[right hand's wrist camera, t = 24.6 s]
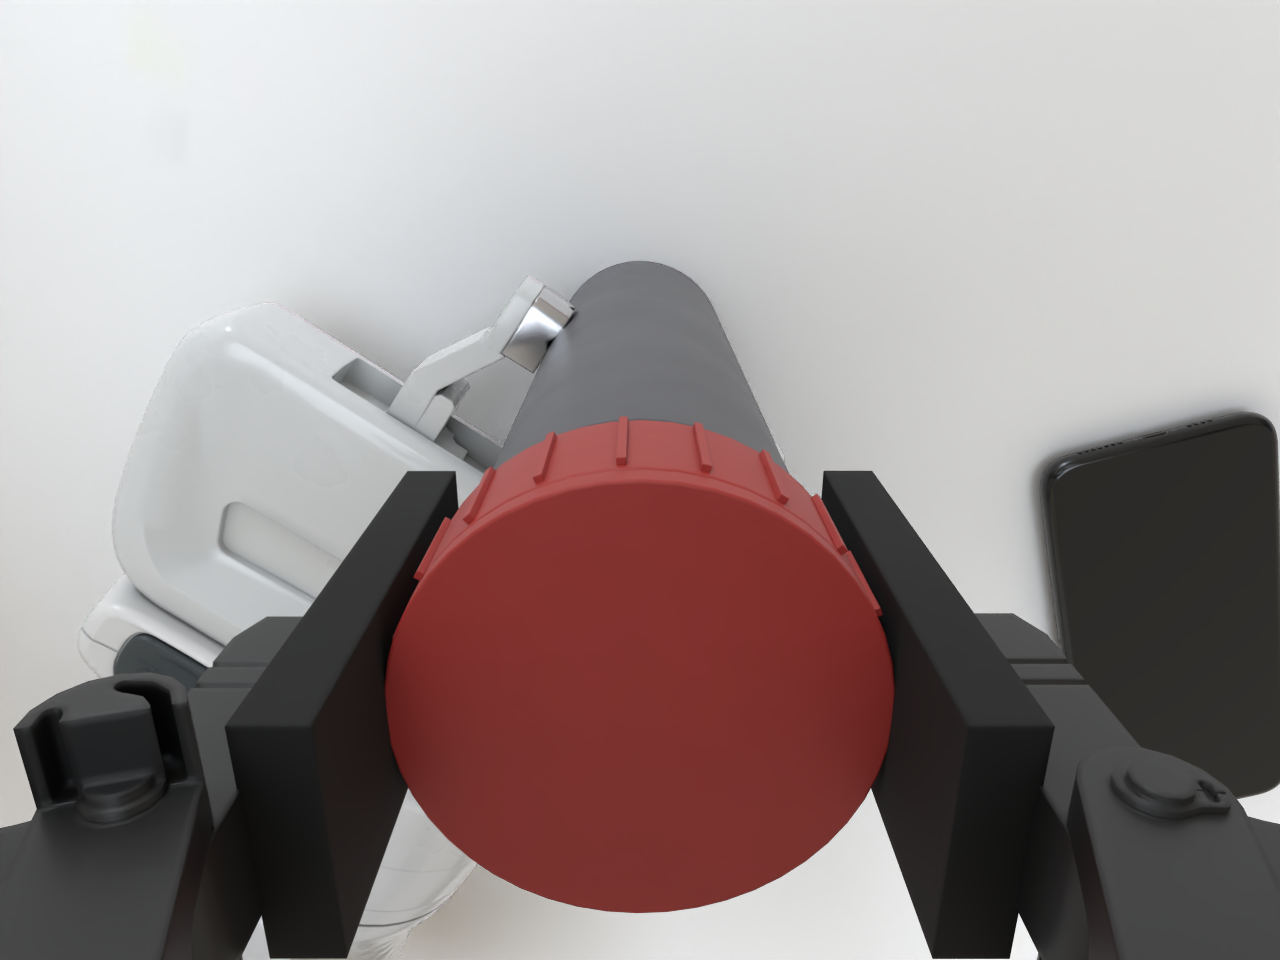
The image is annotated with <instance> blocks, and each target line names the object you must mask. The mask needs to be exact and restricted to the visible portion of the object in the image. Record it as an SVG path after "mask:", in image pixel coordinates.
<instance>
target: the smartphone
mask: <svg viewBox="0 0 1280 960" xmlns="http://www.w3.org/2000/svg"><path fill="white" fill-rule="evenodd" d="M1040 498H1041V506H1042V514H1043V522H1044V530H1045V538H1046V545H1047V553H1048V561H1049V569H1050V577H1051V585H1052V593H1053V601H1054V608H1055V616H1056V624H1057V632H1058V640H1059V648H1060V651H1061V652H1062V653H1063V654H1064V656H1065V657H1066V658H1067V663H1068V664H1072V665H1073V666H1074V668H1075V669H1076V670H1077V671H1078V672H1079V674H1080V675H1081V676H1082V677H1083V678H1084V683H1085V685H1089V686H1090V687H1091V688H1092V689H1093V690H1094V692H1095V693H1096V694H1097V695H1098V696H1099V698H1100V699H1101V700H1102V701H1103V702H1104V704H1105V705H1106V706H1107V707H1108V708H1109V710H1110V711H1111V712H1112V713H1113V714H1114V716H1115V717H1116V718H1117V719H1118V720H1119V722H1120V723H1121V724H1122V725H1123V726H1124V728H1125V729H1126V730H1127V731H1128V732H1129V734H1130V735H1131V736H1132V737H1133V738H1134V740H1135V741H1136V742H1137V743H1138V744H1139V746H1140V747H1141V748H1145V749H1149V750H1153V751H1157V752H1161V753H1164V754H1168V755H1172V756H1175V757H1177V758H1179V759H1181V760H1183V761H1185V762H1187V763H1190V764H1192V765H1194V766H1196V767H1198V768H1200V769H1203V770H1204V771H1205V772H1207V773H1208V774H1210V775H1211V776H1212V777H1214V778H1215V779H1216V780H1218V781H1219V782H1221V783H1222V784H1223V785H1225V786H1226V787H1227V788H1228V789H1229V790H1230V791H1231V793H1232V794H1233V795H1234V796H1235V798H1236V799H1240V798H1245V797H1250V796H1254V795H1259V794H1262V793H1265V792H1268V791H1270V790H1272V789H1274V788H1275V787H1277V786H1278V785H1279V784H1280V502H1279V466H1278V440H1277V434H1276V430H1275V428H1274V426H1273V424H1272V423H1271V421H1270V420H1269V419H1267V418H1266V417H1264V416H1263V415H1260V414H1257V413H1253V412H1240V413H1234V414H1230V415H1226V416H1222V417H1218V418H1214V419H1209V420H1205V421H1201V422H1197V423H1193V424H1189V425H1185V426H1181V427H1177V428H1173V429H1169V430H1165V431H1161V432H1157V433H1153V434H1148V435H1144V436H1140V437H1136V438H1133V439H1128V440H1124V441H1120V442H1116V443H1112V444H1108V445H1104V446H1100V447H1097V448H1092V449H1088V450H1085V451H1081V452H1077V453H1073V454H1069V455H1066V456H1063V457H1061V458H1059V459H1057V460H1055V461H1054V462H1052V463H1051V464H1050V465H1049V466H1048V467H1047V468H1046V470H1045V471H1044V473H1043V475H1042V478H1041V482H1040Z"/></svg>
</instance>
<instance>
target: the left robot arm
mask: <svg viewBox="0 0 1280 960" xmlns="http://www.w3.org/2000/svg"><path fill="white" fill-rule="evenodd" d="M544 286H545V285H544V284H543V283H541V282H540V281H538V280H537V279H535V278H534V277H532V276H530V275H528V276H527V277H526V278H525V279H524V281H523V282H522V284H521V285H520V286H519V288H518V289H517V291H516V292H515V294H514V295H513V296H512V298H511V300H510V301H509V303H508V304H507V306H506V307H505V309H504V311H503V312H502V314H501V315H500V317H499V318H498V320H497V322H496V323H495V325H494V326H493V327H491V326H489V327H487V328H485V329H483V330H481V331H479V332H477V333H475V334H473V335H471V336H468V337H466V338H464V339H462V340H460V341H458V342H456V343H454V344H452V345H450V346H448V347H446V348H444V349H442V350H440V351H437V352H435V353H433V354H431V355H429V356H428V357H427V358H426V359H425V360H424V361H423V362H422V363H421V364H420V365H419V366H418V367H417V368H416V369H415V370H414V371H413V372H412V373H411V374H410V375H409V377H408V378H407V380H406V381H405V383H404V382H402V381H401V380H399V379H398V378H396V377H394V376H393V375H391V374H390V373H388V372H386V371H385V370H383V369H382V368H380V367H379V366H377V365H375V364H374V363H372V362H371V361H369V360H368V359H366V358H364V357H363V356H361V355H360V354H358V353H357V352H355V351H353V350H352V349H350V348H349V347H347V346H345V345H344V344H342V343H341V342H339V341H338V340H336V339H334V338H333V337H331V336H330V335H328V334H327V333H325V332H323V331H322V330H320V329H319V328H317V327H316V326H314V325H312V324H311V323H309V322H308V321H306V320H305V319H303V318H301V317H300V316H298V315H297V314H295V313H294V312H292V311H291V310H289V309H287V308H285V307H283V306H282V305H279V304H276V303H269V302H268V303H262V304H257V305H253V306H248V307H243V308H239V309H235V310H232V311H229V312H226V313H223V314H220V315H217V316H215V317H213V318H211V319H209V320H207V321H205V322H203V323H201V324H200V325H198V326H197V327H195V328H194V329H192V330H191V331H190V332H189V333H188V334H187V335H186V336H185V337H184V338H183V339H182V340H181V341H180V343H179V344H178V345H177V347H176V348H175V350H174V352H173V354H172V356H171V357H170V359H169V361H168V363H167V365H166V367H165V369H164V371H163V373H162V375H161V377H160V379H159V381H158V383H157V385H156V387H155V390H154V392H153V394H152V397H151V399H150V401H149V403H148V406H147V408H146V411H145V413H144V416H143V418H142V421H141V423H140V426H139V428H138V431H137V433H136V436H135V439H134V442H133V444H132V447H131V450H130V453H129V456H128V459H127V462H126V465H125V468H124V471H123V475H122V478H121V481H120V484H119V488H118V491H117V495H116V498H115V503H114V508H113V516H112V538H113V545H114V549H115V553H116V556H117V559H118V561H119V563H120V566H121V568H122V569H123V571H124V573H125V574H124V575H123V576H122V577H121V578H120V579H119V580H118V581H117V582H116V583H115V584H114V585H113V586H112V587H111V588H110V590H109V591H108V592H107V593H106V595H105V596H104V597H103V598H102V599H101V601H100V602H99V603H98V604H97V605H96V607H95V608H94V609H93V611H92V612H91V613H90V614H89V616H88V617H87V619H86V621H85V622H84V624H83V626H82V628H81V630H80V633H79V636H78V642H77V644H78V650H79V653H80V655H81V657H82V659H83V660H84V661H85V663H86V664H87V665H88V667H89V668H90V669H91V670H92V671H93V672H94V673H95V674H96V675H97V676H98V677H100V678H105V677H109V676H114V675H118V674H129V673H148V672H150V673H155V674H160V675H165V676H170V677H173V678H175V679H176V680H177V681H178V682H180V683H181V684H182V685H184V686H185V687H186V690H187V693H188V691H189V690H190V689H191V688H195V686H196V682H197V681H198V679H199V678H200V677H201V676H202V674H203V673H204V672H205V671H206V670H207V668H208V667H212V666H213V661H214V660H215V659H216V658H217V656H218V655H219V654H220V653H221V652H222V650H223V649H224V648H225V647H226V646H227V644H228V643H229V642H230V641H231V639H232V638H233V637H235V636H236V635H238V634H240V633H241V632H243V631H244V630H246V629H248V628H249V627H251V626H252V625H254V624H256V623H257V622H259V621H260V620H262V619H264V618H265V617H267V616H304V615H305V613H306V612H307V610H308V609H309V608H310V606H311V605H312V603H313V602H314V601H315V599H316V598H317V596H318V595H319V594H320V592H321V591H322V590H323V588H324V587H325V585H326V584H327V583H328V581H329V580H330V578H331V577H332V576H333V574H334V573H335V571H336V570H337V569H338V567H339V566H340V564H341V563H342V562H343V560H344V559H345V557H346V556H347V555H348V553H349V552H350V550H351V549H352V548H353V546H354V545H355V543H356V542H357V541H358V539H359V538H360V536H361V535H362V534H363V532H364V531H365V529H366V528H367V527H368V525H369V524H370V523H371V521H372V520H373V518H374V517H375V516H376V514H377V513H378V511H379V510H380V509H381V507H382V506H383V504H384V503H385V502H386V500H387V499H388V497H389V496H390V495H391V493H392V492H393V490H394V489H395V488H396V486H397V485H398V483H399V482H400V481H401V479H402V478H403V476H404V475H405V474H406V472H407V471H456V481H457V494H458V507H460V506H461V504H462V503H463V502H464V501H465V500H466V498H467V497H468V496H469V495H470V494H471V493H472V492H473V491H474V489H475V488H476V487H477V486H478V485H479V483H480V481H481V479H482V477H483V475H484V473H485V471H486V470H487V469H488V468H489V467H492V468H493V467H494V465H495V463H496V461H497V459H498V456H499V454H500V452H501V450H502V448H503V445H502V444H500V443H499V442H497V441H495V440H494V439H492V438H491V437H489V436H487V435H486V434H484V433H483V432H481V431H480V430H478V429H476V428H475V427H473V426H472V425H470V424H469V423H467V422H465V421H464V420H462V419H461V418H459V417H457V416H456V415H454V414H453V413H454V412H455V410H456V408H457V407H458V405H459V404H460V402H461V400H462V399H463V397H464V395H465V394H466V392H467V391H468V389H469V384H468V382H467V381H465V380H464V379H462V378H464V377H466V376H468V375H471V374H473V373H475V372H477V371H479V370H481V369H483V368H485V367H487V366H489V365H491V364H493V363H495V362H497V361H499V360H501V359H503V358H505V356H506V357H508V358H510V359H511V360H513V361H514V362H516V363H517V364H519V365H521V366H522V367H524V368H525V369H527V370H529V371H530V372H532V373H534V372H535V370H536V369H537V367H538V366H539V364H540V363H541V361H542V360H543V358H544V356H545V354H546V352H547V350H548V348H549V346H550V343H551V341H552V340H553V339H555V338H556V337H557V336H558V335H559V333H560V332H561V331H562V330H563V328H564V327H565V325H566V324H567V322H568V321H569V319H570V317H571V315H572V314H573V312H574V309H575V306H573V305H572V304H571V303H569V302H568V301H566V300H565V299H564V298H562V297H561V296H559V295H558V294H557V293H555V292H554V291H552V290H551V289H550V288H548V287H547V286H545V287H544ZM775 444H776V443H775ZM776 446H777V448H778V451H779V453H780V455H781V457H782V459H783V462H785V456H784V454H783V452H782V450H781V448H780V446H779V445H778V444H776ZM477 864H478V863H476V862H475V861H473V860H472V859H470V858H469V857H468V856H467V855H465V854H464V853H463V852H462V851H461V850H459V849H458V848H457V847H456V846H455V845H454V844H452V843H451V842H450V841H449V840H448V839H447V838H446V837H445V836H444V835H443V834H442V833H441V832H440V830H439V829H438V828H437V827H436V826H435V825H434V824H433V823H432V822H431V821H430V820H429V818H428V817H427V816H426V814H425V813H424V811H423V810H422V808H421V807H420V806H419V804H418V803H417V801H416V800H415V798H414V797H413V796H412V794H411V792H410V790H409V788H408V790H407V793H406V796H405V799H404V801H403V804H402V807H401V810H400V813H399V815H398V818H397V821H396V824H395V826H394V829H393V832H392V835H391V837H390V840H389V843H388V846H387V849H386V851H385V854H384V857H383V860H382V862H381V865H380V868H379V871H378V874H377V876H376V879H375V882H374V885H373V887H372V890H371V893H370V896H369V898H368V901H367V904H366V907H365V910H364V912H363V915H362V918H361V921H360V923H359V926H358V929H357V932H356V935H355V937H354V940H353V943H352V946H351V948H350V951H349V954H348V957H347V959H270V957H269V952H268V947H267V942H266V936H265V931H264V926H263V921H262V916H261V918H260V920H259V922H258V924H257V926H256V928H255V930H254V932H253V934H252V936H251V938H250V940H249V942H248V944H247V946H246V948H245V950H244V952H243V954H242V957H243V960H398V959H399V956H400V954H401V952H402V950H403V948H404V946H405V943H406V940H407V937H408V934H409V931H410V929H412V928H413V927H415V926H417V925H418V924H420V923H421V922H423V921H424V920H426V919H427V918H429V917H430V916H432V915H433V914H434V913H435V912H436V911H437V910H438V909H440V908H441V907H442V906H443V905H444V904H445V903H446V902H447V901H448V900H449V899H450V897H451V896H452V895H453V894H454V893H455V891H456V890H457V889H458V888H459V887H460V885H461V884H462V883H463V882H464V880H465V879H466V878H467V877H468V875H469V874H470V873H471V871H472V870H473V869H474V868H475V866H476V865H477Z"/></svg>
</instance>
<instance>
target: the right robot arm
mask: <svg viewBox="0 0 1280 960" xmlns="http://www.w3.org/2000/svg"><path fill="white" fill-rule="evenodd" d="M822 501H823V503H824V505H825V507H826V509H827V511H828V513H829V515H830V517H831V519H832V521H833V522H834V524H835V526H836V528H837V530H838V532H839V534H840V536H841V538H842V540H843V542H844V544H845V546H846V548H847V550H848V551H849V550H850V551H851V553H852V554H853V556H854V558H855V560H856V562H857V564H858V566H859V568H860V570H861V572H862V574H863V575H864V577H865V579H866V581H867V583H868V585H869V587H870V589H871V591H872V593H873V595H874V596H875V598H876V600H877V602H878V604H879V606H880V608H881V611H882V614H883V615H882V616H879V617H878V619H879V621H880V623H881V625H882V628H883V630H884V632H885V635H886V639H887V643H888V646H889V650H890V654H891V658H892V662H893V671H894V681H895V693H894V702H893V711H892V721H891V728H890V736H889V744H888V749H887V752H886V755H885V757H884V760H883V763H882V765H881V768H880V771H879V773H878V776H877V778H876V779H875V781H874V783H873V785H872V787H871V789H872V792H873V795H874V797H875V800H876V803H877V806H878V808H879V811H880V814H881V817H882V820H883V822H884V825H885V828H886V831H887V833H888V836H889V839H890V842H891V845H892V847H893V850H894V853H895V856H896V858H897V861H898V864H899V867H900V869H901V872H902V875H903V878H904V881H905V883H906V886H907V889H908V892H909V894H910V897H911V900H912V903H913V906H914V908H915V911H916V914H917V917H918V919H919V922H920V925H921V928H922V931H923V933H924V936H925V939H926V942H927V944H928V947H929V950H930V953H931V955H932V958H933V959H1010V954H1011V949H1012V944H1013V939H1014V933H1015V928H1016V923H1017V918H1018V913H1019V914H1020V916H1021V918H1022V920H1023V922H1024V924H1025V926H1026V929H1027V931H1028V933H1029V935H1030V937H1031V939H1032V941H1033V943H1034V945H1035V947H1036V949H1037V951H1038V957H1037V960H1280V824H1276V823H1272V822H1267V821H1263V820H1259V819H1255V818H1252V817H1248V816H1247V814H1246V812H1245V810H1244V808H1243V807H1242V806H1241V804H1240V803H1239V802H1238V800H1237V799H1236V798H1235V796H1234V795H1233V794H1232V793H1231V791H1230V790H1229V789H1228V788H1227V787H1226V786H1225V785H1223V784H1222V783H1221V782H1219V781H1218V780H1216V779H1215V778H1214V777H1212V776H1211V775H1210V774H1208V773H1207V772H1205V771H1204V770H1203V769H1200V768H1198V767H1196V766H1194V765H1192V764H1190V763H1187V762H1185V761H1183V760H1181V759H1179V758H1177V757H1175V756H1172V755H1168V754H1164V753H1161V752H1157V751H1153V750H1149V749H1145V748H1141V747H1140V746H1139V744H1138V743H1137V742H1136V741H1135V740H1134V738H1133V737H1132V736H1131V735H1130V734H1129V732H1128V731H1127V730H1126V729H1125V728H1124V726H1123V725H1122V724H1121V723H1120V722H1119V720H1118V719H1117V718H1116V717H1115V716H1114V714H1113V713H1112V712H1111V711H1110V710H1109V708H1108V707H1107V706H1106V705H1105V704H1104V702H1103V701H1102V700H1101V699H1100V698H1099V696H1098V695H1097V694H1096V693H1095V692H1094V690H1093V689H1092V688H1091V687H1090V686H1089V685H1085V683H1084V678H1083V677H1082V676H1081V675H1080V674H1079V672H1078V671H1077V670H1076V669H1075V668H1074V666H1073V665H1072V664H1068V663H1067V658H1066V657H1065V656H1064V654H1063V653H1062V652H1061V651H1060V650H1059V648H1058V647H1057V646H1056V645H1055V644H1054V643H1053V641H1052V640H1051V639H1050V638H1049V637H1048V635H1047V634H1045V633H1044V632H1042V631H1040V630H1039V629H1037V628H1035V627H1034V626H1032V625H1031V624H1029V623H1027V622H1026V621H1024V620H1023V619H1021V618H1019V617H1018V616H1016V615H1015V614H974V613H973V611H972V610H971V608H970V607H969V606H968V604H967V603H966V601H965V600H964V599H963V597H962V596H961V595H960V593H959V592H958V590H957V589H956V588H955V586H954V585H953V583H952V582H951V581H950V579H949V578H948V576H947V575H946V574H945V572H944V571H943V569H942V568H941V567H940V565H939V564H938V562H937V561H936V560H935V558H934V557H933V555H932V554H931V553H930V551H929V550H928V548H927V547H926V546H925V544H924V543H923V541H922V540H921V539H920V537H919V536H918V534H917V533H916V532H915V530H914V529H913V527H912V526H911V525H910V523H909V522H908V521H907V519H906V518H905V516H904V515H903V514H902V512H901V511H900V509H899V508H898V507H897V505H896V504H895V502H894V501H893V500H892V498H891V497H890V495H889V494H888V493H887V491H886V490H885V488H884V487H883V486H882V484H881V483H880V481H879V480H878V479H877V477H876V476H875V474H874V473H873V472H872V471H824V474H823V487H822ZM458 509H459V507H458V494H457V481H456V471H407V472H406V474H405V475H404V476H403V478H402V479H401V481H400V482H399V483H398V485H397V486H396V488H395V489H394V490H393V492H392V493H391V495H390V496H389V497H388V499H387V500H386V502H385V503H384V504H383V506H382V507H381V509H380V510H379V511H378V513H377V514H376V516H375V517H374V518H373V520H372V521H371V523H370V524H369V525H368V527H367V528H366V529H365V531H364V532H363V534H362V535H361V536H360V538H359V539H358V541H357V542H356V543H355V545H354V546H353V548H352V549H351V550H350V552H349V553H348V555H347V556H346V557H345V559H344V560H343V562H342V563H341V564H340V566H339V567H338V569H337V570H336V571H335V573H334V574H333V576H332V577H331V578H330V580H329V581H328V583H327V584H326V585H325V587H324V588H323V590H322V591H321V592H320V594H319V595H318V596H317V598H316V599H315V601H314V602H313V603H312V605H311V606H310V608H309V609H308V610H307V612H306V613H305V615H304V616H267V617H265V618H264V619H262V620H260V621H259V622H257V623H256V624H254V625H252V626H251V627H249V628H248V629H246V630H244V631H243V632H241V633H240V634H238V635H236V636H235V637H233V638H232V639H231V641H230V642H229V643H228V644H227V646H226V647H225V648H224V649H223V650H222V652H221V653H220V654H219V655H218V656H217V658H216V659H215V660H214V661H213V666H212V667H208V668H207V670H206V671H205V672H204V673H203V674H202V676H201V677H200V678H199V679H198V681H197V682H196V686H195V688H191V689H190V690H189V691H188V693H187V690H186V687H185V686H184V685H182V684H181V683H180V682H178V681H177V680H176V679H175V678H173V677H170V676H165V675H160V674H155V673H150V672H148V673H129V674H118V675H114V676H109V677H105V678H101V679H96V680H92V681H88V682H85V683H83V684H80V685H78V686H75V687H73V688H70V689H68V690H65V691H63V692H60V693H58V694H56V695H54V696H53V697H51V698H49V699H48V700H46V701H45V702H43V703H41V704H40V705H38V706H37V707H35V708H33V709H32V710H30V711H29V712H28V713H27V715H26V716H25V717H24V718H23V719H22V720H21V721H20V722H19V723H18V724H17V725H16V726H15V728H14V729H13V730H14V733H15V736H16V740H17V743H18V747H19V750H20V753H21V757H22V760H23V763H24V767H25V770H26V774H27V777H28V780H29V784H30V787H31V791H32V794H33V797H34V801H35V804H36V807H37V810H36V812H35V814H34V816H33V818H32V820H31V821H28V822H25V823H21V824H17V825H13V826H8V827H3V828H0V960H243V957H242V954H243V952H244V950H245V948H246V946H247V944H248V942H249V940H250V938H251V936H252V934H253V932H254V930H255V928H256V926H257V924H258V922H259V920H260V918H261V916H262V921H263V926H264V931H265V936H266V942H267V947H268V952H269V957H270V959H347V957H348V954H349V951H350V948H351V946H352V943H353V940H354V937H355V935H356V932H357V929H358V926H359V923H360V921H361V918H362V915H363V912H364V910H365V907H366V904H367V901H368V898H369V896H370V893H371V890H372V887H373V885H374V882H375V879H376V876H377V874H378V871H379V868H380V865H381V862H382V860H383V857H384V854H385V851H386V849H387V846H388V843H389V840H390V837H391V835H392V832H393V829H394V826H395V824H396V821H397V818H398V815H399V813H400V810H401V807H402V804H403V801H404V799H405V796H406V793H407V790H408V786H407V784H406V782H405V780H404V778H403V776H402V774H401V772H400V770H399V767H398V764H397V762H396V759H395V756H394V753H393V750H392V747H391V741H390V733H389V725H388V717H387V708H386V698H385V688H384V686H385V675H386V667H387V660H388V655H389V652H390V648H391V645H392V641H393V640H392V637H393V635H394V633H395V631H396V628H397V626H398V624H399V622H400V620H401V617H402V615H403V613H404V611H405V609H406V607H407V605H408V602H409V600H410V598H411V597H412V595H413V593H414V591H415V589H416V587H417V585H418V583H419V580H417V579H415V578H414V575H415V573H416V571H417V569H418V567H419V566H420V564H421V562H422V560H423V558H424V556H425V554H426V552H427V550H428V548H429V547H430V545H431V543H432V541H433V539H434V537H435V535H436V533H437V531H438V529H439V528H440V526H441V524H442V522H443V520H444V519H445V517H447V518H449V519H450V520H452V518H453V517H454V515H455V514H456V512H457V510H458Z"/></svg>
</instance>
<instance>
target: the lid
mask: <svg viewBox="0 0 1280 960" xmlns="http://www.w3.org/2000/svg"><path fill="white" fill-rule="evenodd" d="M414 578H415V579H417V580H419V583H418V585H417V587H416V589H415V591H414V593H413V595H412V597H411V598H410V600H409V602H408V605H407V607H406V609H405V611H404V613H403V615H402V617H401V620H400V622H399V624H398V626H397V628H396V631H395V633H394V635H393V637H392V640H393V641H392V645H391V648H390V652H389V655H388V660H387V667H386V675H385V686H384V688H385V698H386V708H387V717H388V725H389V733H390V741H391V747H392V750H393V753H394V756H395V759H396V762H397V764H398V767H399V770H400V772H401V774H402V776H403V778H404V780H405V782H406V784H407V786H408V788H409V790H410V792H411V794H412V796H413V797H414V798H415V800H416V801H417V803H418V804H419V806H420V807H421V808H422V810H423V811H424V813H425V814H426V816H427V817H428V818H429V820H430V821H431V822H432V823H433V824H434V825H435V826H436V827H437V828H438V829H439V830H440V832H441V833H442V834H443V835H444V836H445V837H446V838H447V839H448V840H449V841H450V842H451V843H452V844H454V845H455V846H456V847H457V848H458V849H459V850H461V851H462V852H463V853H464V854H465V855H467V856H468V857H469V858H470V859H472V860H473V861H475V862H476V863H478V864H479V865H481V866H482V867H484V868H485V869H487V870H488V871H490V872H491V873H493V874H494V875H496V876H498V877H500V878H502V879H504V880H506V881H508V882H510V883H512V884H514V885H515V886H517V887H519V888H522V889H524V890H527V891H529V892H532V893H535V894H537V895H540V896H542V897H545V898H548V899H551V900H555V901H559V902H562V903H566V904H570V905H573V906H577V907H583V908H590V909H596V910H602V911H610V912H627V913H651V912H670V911H676V910H683V909H690V908H697V907H701V906H705V905H709V904H713V903H717V902H721V901H725V900H728V899H731V898H734V897H737V896H739V895H742V894H745V893H748V892H750V891H753V890H756V889H758V888H760V887H762V886H764V885H766V884H768V883H770V882H772V881H774V880H776V879H778V878H780V877H782V876H783V875H785V874H786V873H788V872H790V871H791V870H793V869H794V868H796V867H797V866H799V865H801V864H802V863H804V862H805V861H807V860H808V859H809V858H810V857H811V856H813V855H814V854H815V853H816V852H818V851H819V850H820V849H821V848H822V847H824V846H825V845H826V844H827V843H828V842H829V841H830V840H831V839H832V838H833V837H834V836H835V835H836V834H837V833H838V832H839V831H840V830H841V829H842V828H843V827H844V826H845V825H846V824H847V823H848V821H849V820H850V819H851V817H852V816H853V815H854V813H855V812H856V810H857V809H858V808H859V806H860V805H861V804H862V802H863V801H864V800H865V798H866V796H867V794H868V792H869V790H870V789H871V787H872V785H873V783H874V781H875V779H876V778H877V776H878V773H879V771H880V768H881V765H882V763H883V760H884V757H885V755H886V752H887V749H888V744H889V736H890V728H891V721H892V711H893V702H894V693H895V681H894V671H893V662H892V658H891V654H890V650H889V646H888V643H887V639H886V635H885V632H884V630H883V628H882V625H881V623H880V621H879V619H878V617H879V616H882V615H883V614H882V611H881V608H880V606H879V604H878V602H877V600H876V598H875V596H874V595H873V593H872V591H871V589H870V587H869V585H868V583H867V581H866V579H865V577H864V575H863V574H862V572H861V570H860V568H859V566H858V564H857V562H856V560H855V558H854V556H853V554H852V553H851V551H850V550H849V551H848V550H847V548H846V546H845V544H844V542H843V540H842V538H841V536H840V534H839V532H838V530H837V528H836V526H835V524H834V522H833V521H832V519H831V517H830V515H829V513H828V511H827V509H826V507H825V505H824V503H823V501H822V499H821V498H820V497H819V496H818V494H816V495H814V496H813V497H811V496H810V495H809V493H808V492H807V491H806V490H805V489H804V487H803V486H802V485H801V484H800V483H798V482H797V481H796V480H795V479H794V478H793V477H792V476H791V475H789V474H788V473H787V472H786V471H785V470H784V469H783V468H782V467H780V466H779V465H777V464H776V463H774V462H773V460H772V457H771V455H770V453H769V452H767V451H766V450H764V449H763V450H762V451H761V453H759V452H758V451H756V450H754V449H752V448H750V447H748V446H746V445H744V444H742V443H740V442H738V441H736V440H734V439H732V438H729V437H726V436H723V435H720V434H718V433H715V432H712V431H709V430H706V429H704V428H703V424H701V423H697V422H694V425H693V426H688V425H683V424H678V423H673V422H661V421H648V420H635V421H628V416H621V417H619V421H616V422H608V423H602V424H596V425H591V426H585V427H581V428H578V429H574V430H571V431H568V432H565V433H562V434H559V435H556V434H555V432H554V431H553V432H550V433H548V434H547V435H546V438H545V440H544V441H542V442H540V443H538V444H535V445H533V446H531V447H529V448H527V449H525V450H524V451H522V452H521V453H519V454H517V455H516V456H514V457H513V458H511V459H510V460H508V461H506V462H505V463H503V464H502V465H501V466H500V467H498V468H497V469H496V470H494V469H493V468H492V467H489V468H488V469H487V470H486V471H485V473H484V475H483V477H482V479H481V481H480V483H479V485H478V486H477V487H476V488H475V489H474V491H473V492H472V493H471V494H470V495H469V496H468V497H467V498H466V500H465V501H464V502H463V503H462V504H461V506H460V507H459V509H458V510H457V512H456V514H455V515H454V517H453V518H452V520H450V519H449V518H447V517H445V519H444V520H443V522H442V524H441V526H440V528H439V529H438V531H437V533H436V535H435V537H434V539H433V541H432V543H431V545H430V547H429V548H428V550H427V552H426V554H425V556H424V558H423V560H422V562H421V564H420V566H419V567H418V569H417V571H416V573H415V575H414Z"/></svg>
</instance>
